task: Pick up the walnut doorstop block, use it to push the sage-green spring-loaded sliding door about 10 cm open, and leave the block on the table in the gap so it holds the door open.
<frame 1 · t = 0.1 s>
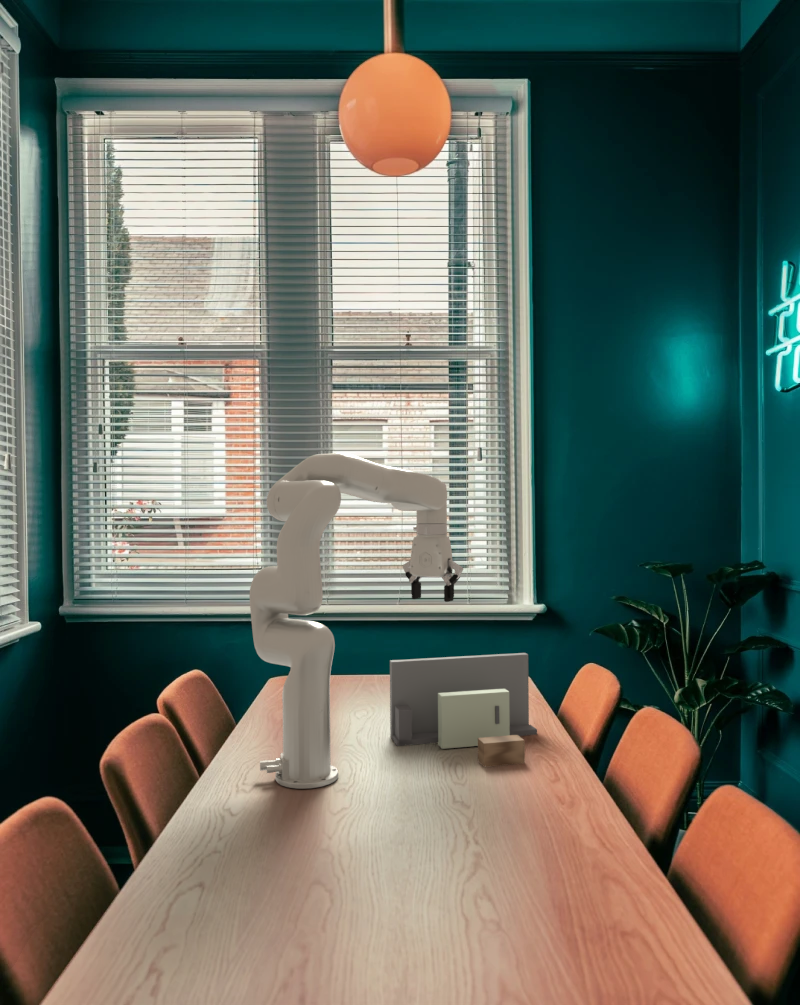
hand: (432, 599, 191), 31 cm above the table, tool pointing down, fingers open, 9 cm apart
grey upright panel: (468, 740, 178), on the table
door: (474, 718, 174), point 6 cm above the table, slide at 0.0 cm
walnut block: (501, 762, 163), on the table
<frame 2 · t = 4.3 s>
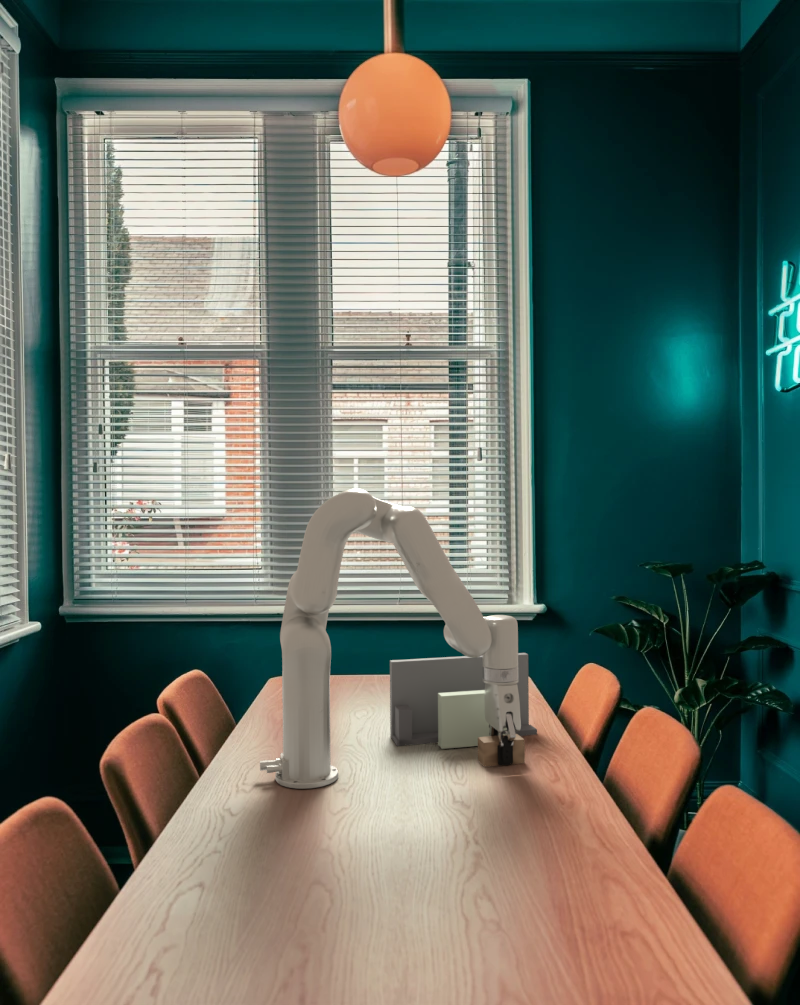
hand: (501, 759, 163), 0 cm above the table, tool pointing down, fingers closed on walnut block, 4 cm apart
walnut block: (501, 761, 163), on the table, touching gripper
everything else where it was.
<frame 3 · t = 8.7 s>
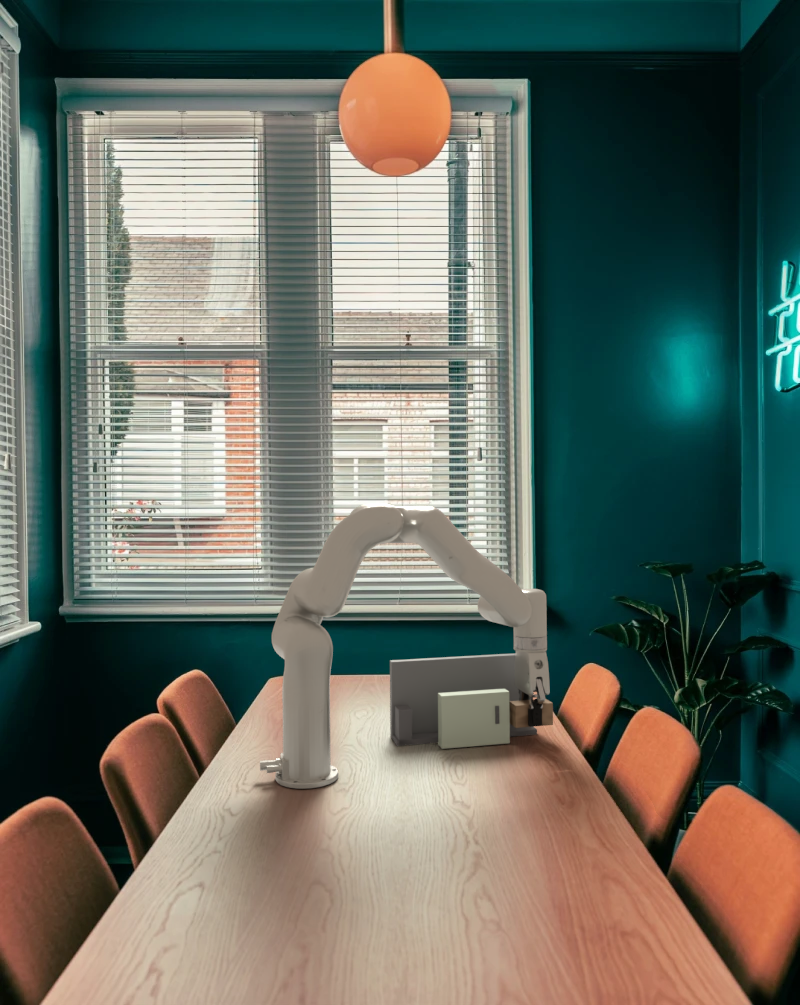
hand: (530, 722, 177), 5 cm above the table, tool pointing down, fingers closed on walnut block, 4 cm apart
walnut block: (531, 723, 177), point 4 cm above the table, touching gripper
everything else where it was.
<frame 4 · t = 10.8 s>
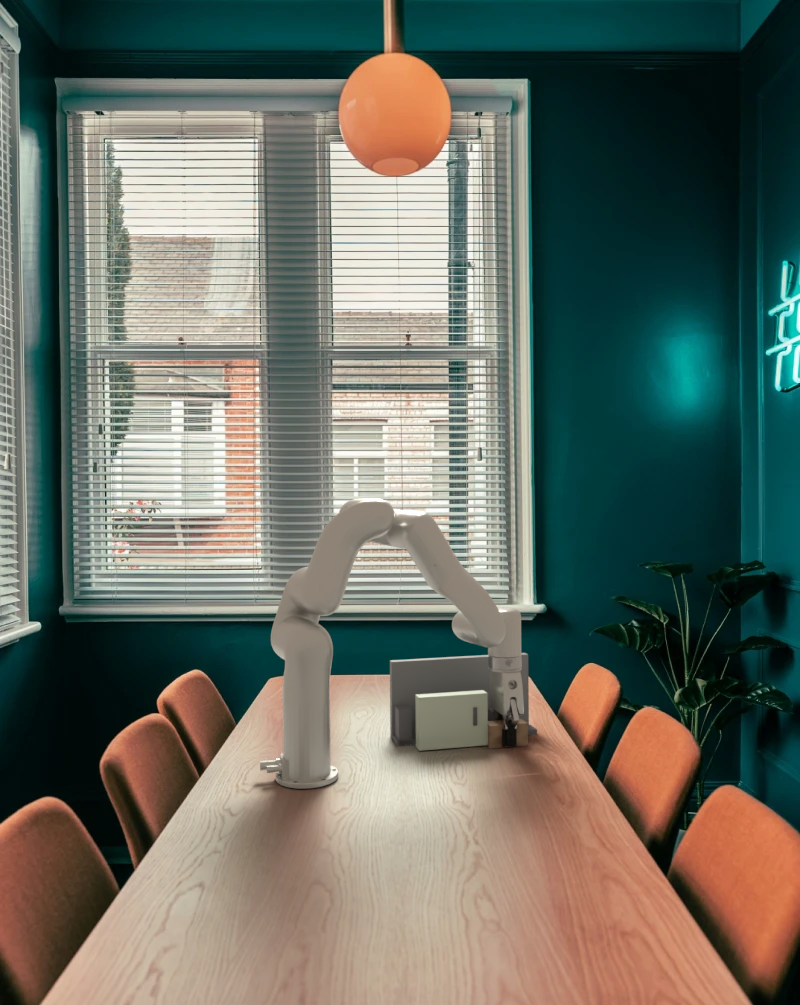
hand: (505, 742, 175), 0 cm above the table, tool pointing down, fingers closed on walnut block, 4 cm apart
door: (451, 720, 173), point 6 cm above the table, slide at 5.2 cm
walnut block: (506, 744, 175), on the table, touching gripper
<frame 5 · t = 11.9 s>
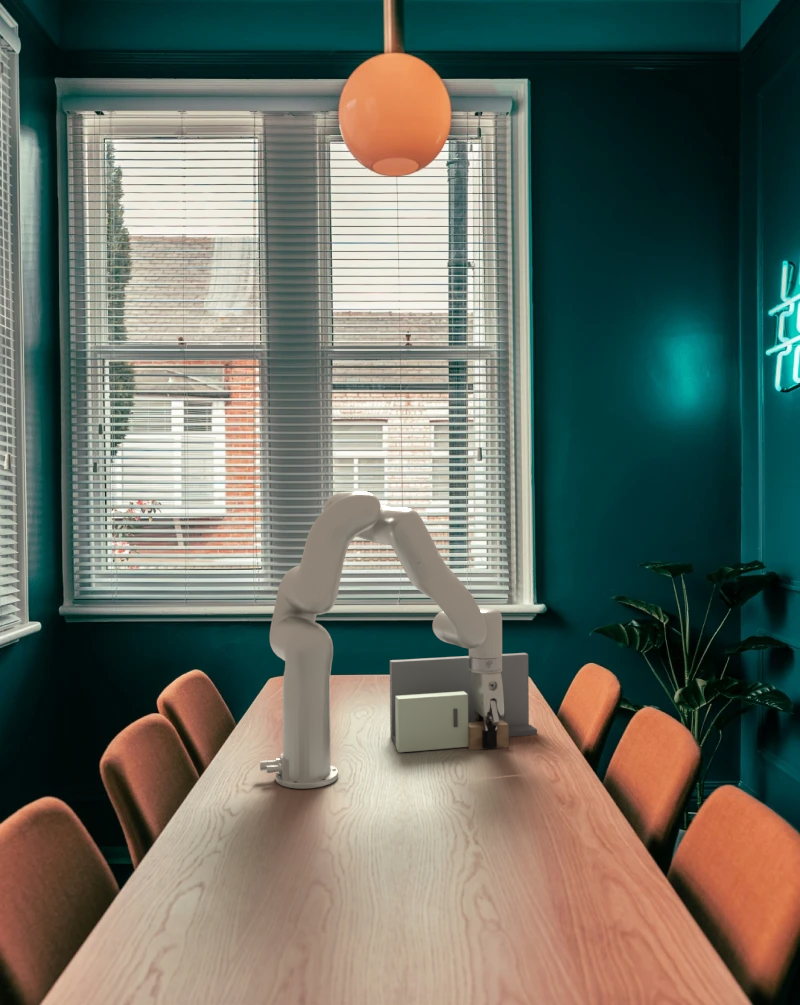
hand: (486, 743, 174), 0 cm above the table, tool pointing down, fingers closed on walnut block, 4 cm apart
door: (432, 721, 172), point 6 cm above the table, slide at 9.9 cm, touching walnut block
walnut block: (486, 745, 174), on the table, touching door, gripper
when the fingers open (0 cm above the table, at t = 13.1 s): walnut block stays where it is, on the table.
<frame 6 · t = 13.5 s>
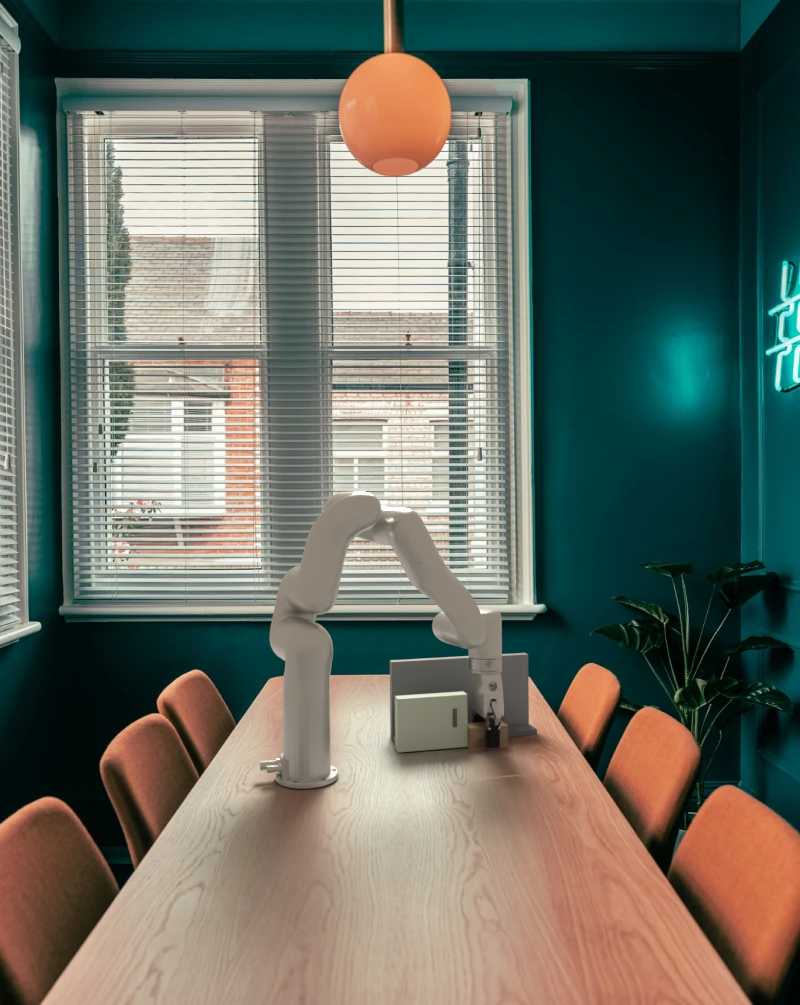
hand: (486, 741, 174), 1 cm above the table, tool pointing down, fingers open, 8 cm apart
door: (431, 721, 172), point 6 cm above the table, slide at 10.0 cm
walnut block: (486, 746, 174), on the table
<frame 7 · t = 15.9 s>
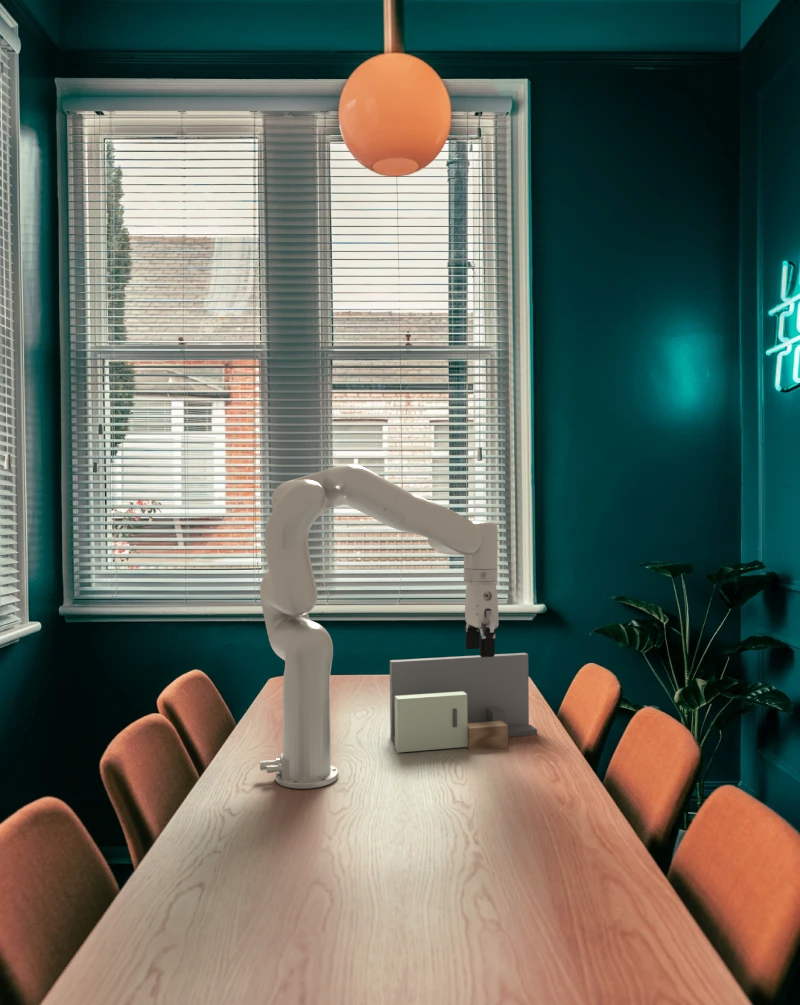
hand: (479, 652, 173), 21 cm above the table, tool pointing down, fingers open, 9 cm apart
door: (431, 721, 172), point 6 cm above the table, slide at 10.0 cm, touching walnut block
walnut block: (486, 746, 174), on the table, touching door
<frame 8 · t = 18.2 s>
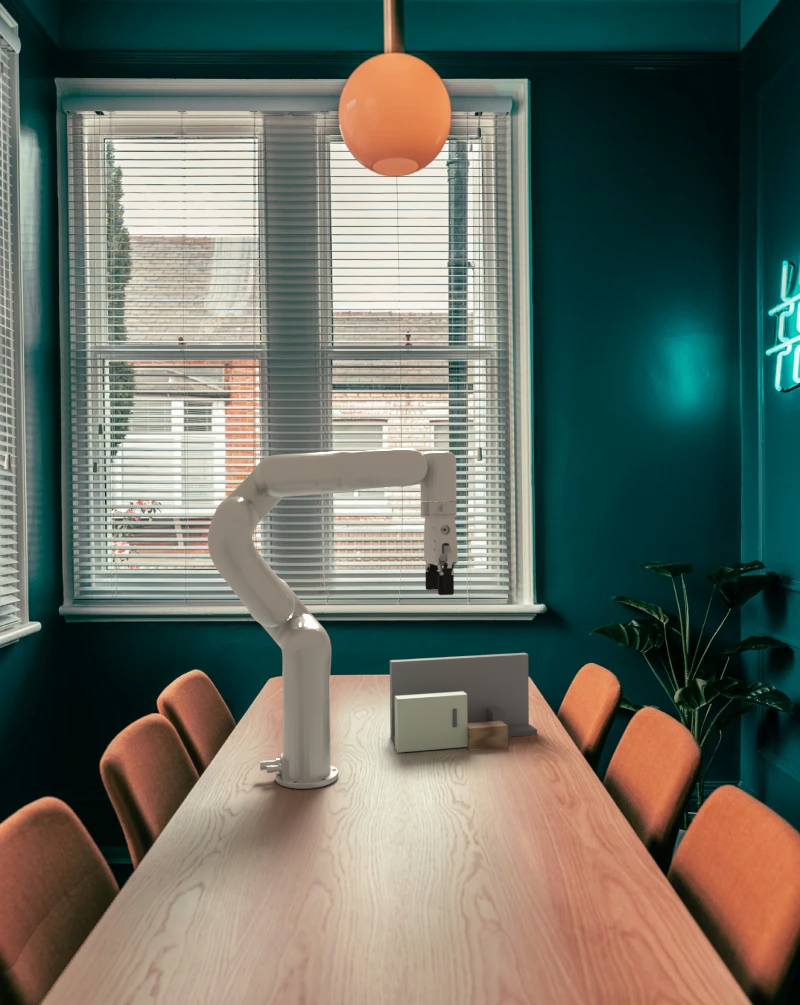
hand: (439, 592, 161), 36 cm above the table, tool pointing down, fingers open, 9 cm apart
nothing on the table moved.
at the end: door slide at 10.0 cm; walnut block inside the target area (1.0 cm from its centre), on the table; the gripper is holding nothing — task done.
